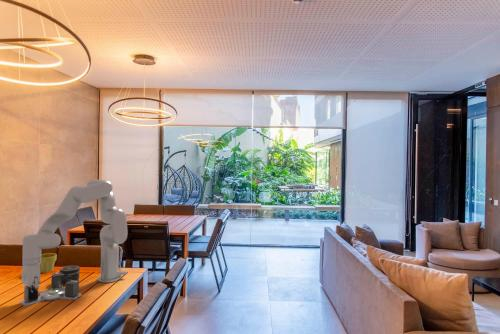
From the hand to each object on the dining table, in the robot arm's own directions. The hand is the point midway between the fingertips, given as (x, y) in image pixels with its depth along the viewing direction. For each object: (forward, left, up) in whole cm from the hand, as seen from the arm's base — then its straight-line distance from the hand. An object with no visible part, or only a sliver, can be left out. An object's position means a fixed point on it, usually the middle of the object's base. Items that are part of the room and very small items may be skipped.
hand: (31, 297), depth 154 cm
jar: (-14, -25, -2) cm, 29 cm away
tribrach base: (-9, -7, -2) cm, 12 cm away
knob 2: (-9, -15, -1) cm, 17 cm away
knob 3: (-17, 0, -1) cm, 17 cm away
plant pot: (+1, -49, -2) cm, 49 cm away
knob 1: (0, 0, -1) cm, 1 cm away
